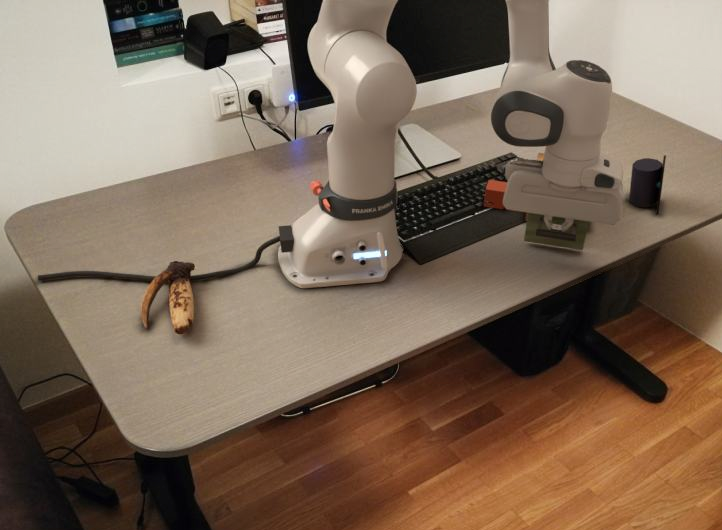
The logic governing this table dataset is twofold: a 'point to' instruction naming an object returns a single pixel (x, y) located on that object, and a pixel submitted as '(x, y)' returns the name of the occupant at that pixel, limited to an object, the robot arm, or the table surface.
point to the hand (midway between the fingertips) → (555, 235)
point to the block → (495, 194)
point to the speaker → (646, 182)
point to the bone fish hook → (173, 296)
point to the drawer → (555, 232)
